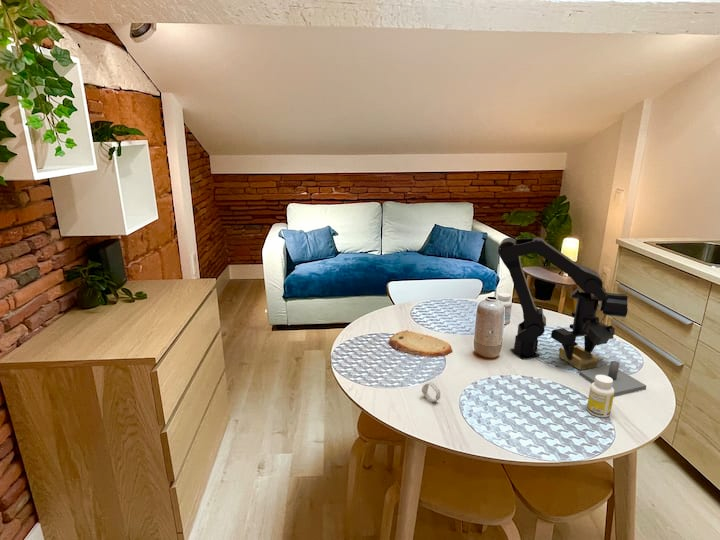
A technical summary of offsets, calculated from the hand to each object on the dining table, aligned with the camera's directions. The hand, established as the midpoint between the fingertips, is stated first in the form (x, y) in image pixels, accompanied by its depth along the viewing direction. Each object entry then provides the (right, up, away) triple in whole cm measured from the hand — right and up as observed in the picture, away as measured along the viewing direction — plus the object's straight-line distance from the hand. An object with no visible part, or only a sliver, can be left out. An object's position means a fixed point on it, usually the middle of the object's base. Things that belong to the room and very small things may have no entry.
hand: (578, 357), depth 136 cm
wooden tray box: (0, -1, 0) cm, 1 cm away
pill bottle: (-14, +8, +30) cm, 34 cm away
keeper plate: (+5, -5, -10) cm, 12 cm away
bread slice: (-48, +1, +11) cm, 50 cm away
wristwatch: (-49, -8, -18) cm, 53 cm away
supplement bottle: (-7, -9, -24) cm, 26 cm away
